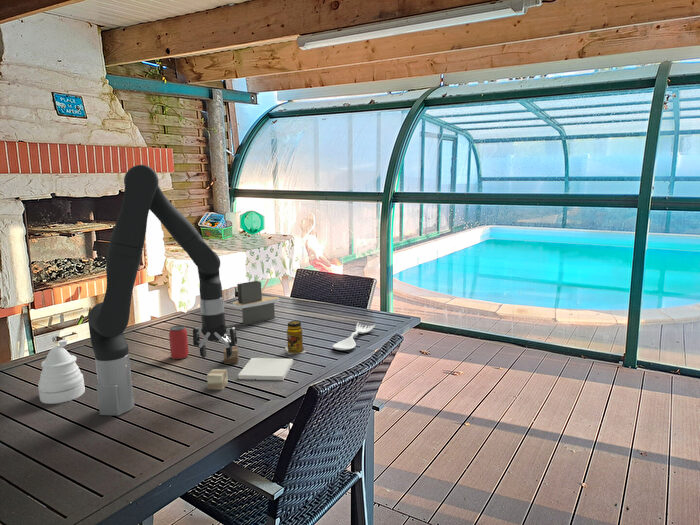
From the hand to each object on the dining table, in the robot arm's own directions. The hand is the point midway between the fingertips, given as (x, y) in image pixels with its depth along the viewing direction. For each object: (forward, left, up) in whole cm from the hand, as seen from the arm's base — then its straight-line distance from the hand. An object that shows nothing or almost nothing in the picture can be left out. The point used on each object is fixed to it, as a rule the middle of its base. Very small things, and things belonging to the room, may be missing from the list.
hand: (216, 357), depth 165 cm
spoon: (+48, -41, -11) cm, 64 cm away
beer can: (+25, +25, -10) cm, 37 cm away
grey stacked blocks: (+73, +8, -11) cm, 74 cm away
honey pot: (-10, +49, -10) cm, 51 cm away
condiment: (+35, -19, -10) cm, 41 cm away
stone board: (+14, -13, -10) cm, 21 cm away
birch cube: (0, 0, -10) cm, 10 cm away
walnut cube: (+22, +3, -10) cm, 24 cm away
